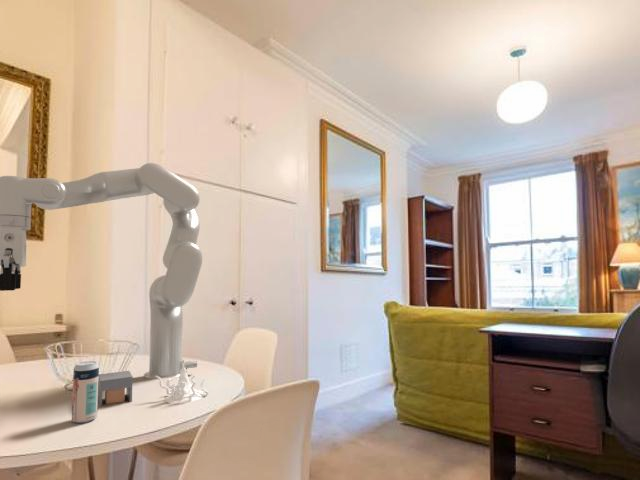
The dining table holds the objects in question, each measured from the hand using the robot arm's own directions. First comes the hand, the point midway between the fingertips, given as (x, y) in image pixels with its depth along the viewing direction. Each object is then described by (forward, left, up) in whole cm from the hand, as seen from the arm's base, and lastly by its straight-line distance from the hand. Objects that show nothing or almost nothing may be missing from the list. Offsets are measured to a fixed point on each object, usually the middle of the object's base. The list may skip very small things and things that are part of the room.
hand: (10, 289), depth 105 cm
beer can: (-17, +29, -28) cm, 43 cm away
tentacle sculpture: (-38, +24, -28) cm, 53 cm away
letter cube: (-24, +17, -28) cm, 40 cm away
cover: (-24, +17, -27) cm, 40 cm away
